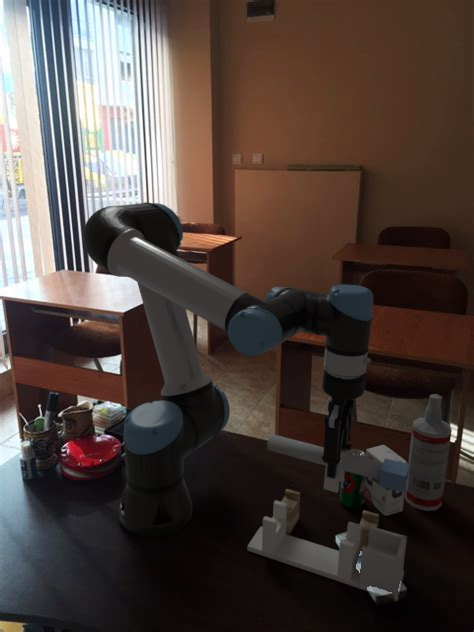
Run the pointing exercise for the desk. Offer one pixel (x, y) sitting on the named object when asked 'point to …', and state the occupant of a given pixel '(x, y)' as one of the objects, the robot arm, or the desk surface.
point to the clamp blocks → (293, 515)
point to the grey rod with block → (346, 462)
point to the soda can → (353, 485)
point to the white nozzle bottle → (428, 458)
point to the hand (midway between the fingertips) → (333, 484)
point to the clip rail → (336, 553)
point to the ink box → (378, 495)
